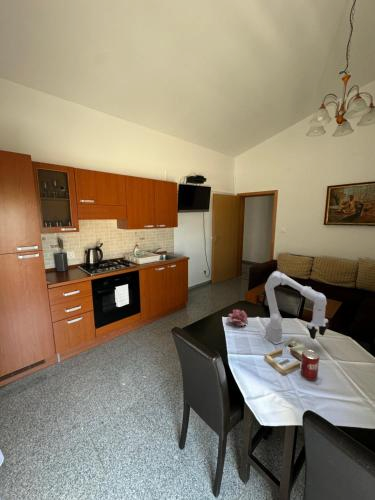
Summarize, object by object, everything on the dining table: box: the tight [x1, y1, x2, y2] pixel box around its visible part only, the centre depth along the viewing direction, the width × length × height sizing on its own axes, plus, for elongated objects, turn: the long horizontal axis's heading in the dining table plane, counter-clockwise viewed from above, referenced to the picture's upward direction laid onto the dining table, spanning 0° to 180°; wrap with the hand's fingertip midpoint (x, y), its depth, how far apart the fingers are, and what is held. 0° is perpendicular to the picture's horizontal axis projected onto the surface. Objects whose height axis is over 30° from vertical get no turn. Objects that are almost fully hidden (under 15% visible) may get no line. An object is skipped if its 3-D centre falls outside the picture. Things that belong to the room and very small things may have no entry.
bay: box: [263, 348, 302, 376], centre depth 114 cm, size 13×12×3 cm
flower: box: [226, 309, 249, 328], centre depth 155 cm, size 15×15×10 cm
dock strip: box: [277, 359, 291, 366], centre depth 115 cm, size 2×9×1 cm, turn 114°
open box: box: [289, 343, 314, 361], centre depth 120 cm, size 7×9×4 cm
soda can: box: [300, 349, 320, 381], centre depth 105 cm, size 7×7×12 cm
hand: (316, 336), depth 123 cm, fingers open, 7 cm apart
